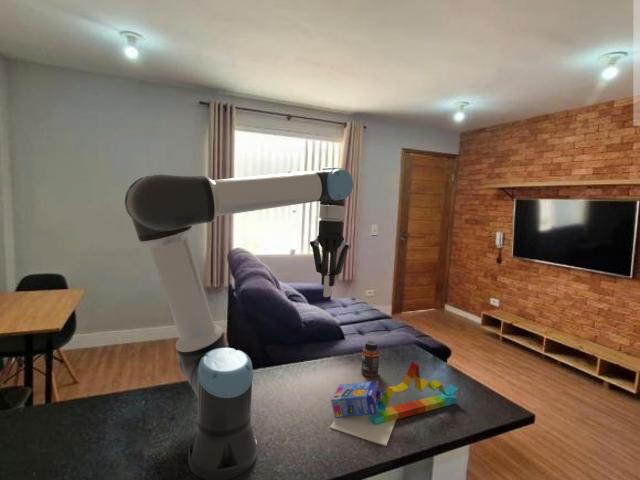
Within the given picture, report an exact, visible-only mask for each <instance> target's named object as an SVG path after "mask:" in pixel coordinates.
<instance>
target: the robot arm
mask: <svg viewBox="0 0 640 480" xmlns="http://www.w3.org/2000/svg"><path fill="white" fill-rule="evenodd" d="M353 188H354V178H353V177H352V175H351V173H350V172H349V171H347V170H346V169H344V168H339V167H323V168H322V169H321V170H310V171H300V170H289V171H288V172H286V173H278V174H277V173H276V174H267V175H266V174H265V175H256V176H254V175H252V176H243V177H242V176H241V177H232V178H220V179H211V178H210V177H208V176H207V175H194V176H192V175H191V176H189V175H188V176H187V175H172V174H162V173H161V174H154V175H153V174H152V175H147V176H144V177H140V178H138V179H136V180H135V181H134V182H132V184H131V185H130V186H129V187H128V189H127V191H126V192H125V198H124V207H125V209H126V212H127V214H128V215H129V217H130V218H131V220H132V224H133V226H134V228H135V233H136V236H137V237H138V241H139V242H140V243H142V244H143V245H145V246H147V247H149V250H150V253H151V256H152V259H153V263H154V265H155V268H156V271H157V274H158V276H159V277H158V278H159V280H160V283H161V286H162V288H163V291H164V295H165V297H166V301H167V303H168V306H169V307H168V308H169V310H170V312H171V315H172V319H173V321H174V325H175V327H176V330H177V332H178V333H177V334H178V336H179V338H178V339H177V341H176V342H175V349H176V352H177V355H178V362H179V368H180V370H181V372H182V374H183V375H184V377H186V379H187V381H188V383H189V386H190V387H191V389H192V390H193V392H194V393H195V396H196V399H197V425H196V429H195V432H194V435H193V438H192V440H191V443H190V445H189V449H188V468H189V469H190V471H191V473H193V474H194V475H195V476H196V477H198V478H200V479H203V480H231V479H234V478H237V477H239V476H241V475H243V473H245V472H247V471H248V470H250V468H251V467H252V466H253V465H254V463H255V461H256V459H257V454H258V441H257V437H256V435H255V433H254V429H253V426H252V421H251V416H252V414H251V413H252V391H253V379H254V372H253V363H252V360H251V358H250V357H249V355H248V354H247V353H246V352H244V351H242V350H240V349H237V350H236V349H235V348H233V347H228V344H227V341H226V337H225V333H224V331H223V328H222V327H221V326H220V325H217V324H215V322H214V318H213V315H212V312H211V308H210V306H209V303H208V299H207V295H206V292H205V289H204V286H203V282H202V280H201V276H200V273H199V270H198V266H197V263H196V259H195V256H194V252H193V249H192V247H191V244H190V239H189V235H190V233H191V231H192V230H193V226H196V225H200V224H201V225H202V224H207V223H212V222H214V221H215V220H216V219H217V217H221V216H226V215H227V216H228V215H235V214H240V213H241V214H242V213H247V212H249V213H250V212H254V211H261V210H262V211H263V210H268V209H275V208H283V207H290V206H296V205H301V204H309V203H315V202H319V213H318V214H319V215H318V218H319V221H318V235H317V237H316V239H314V240H311V241H310V242H309V245H310V246H311V248H312V254H313V259H314V265H315V271H316V273H319V274H320V275H321V285H322V286H323V294H322V295H323V296H322V297H323V298H324V297H325V298H329V297H330V296H332V287H334V286H335V284H336V283H335V281H336V279H335V278H336V276H338V275H340V274H342V271H343V268H344V264H345V260H346V258H347V254H348V251H349V250H350V249H351V247H352V245H351V244H350V243H347V242H346V241H345V238H344V224H345V223H344V221H342V220H345V219H344V218H345V208H346V207H345V203H346V199H347V198H349V197H350V196H351V194H352V193H353ZM320 247H321V251H320ZM340 248H341V250H340V253H339V256H337V255H338V250H339V249H340ZM321 253H322V254H321ZM337 257H338V259H337Z"/></svg>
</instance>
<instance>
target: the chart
mask: <svg viewBox="0 0 640 480" xmlns="http://www.w3.org/2000/svg"><path fill="white" fill-rule="evenodd" d="M413 380H414V388H416V389H417V390H418V391H420V392H421V393H422V392H423V391H424V390H425V389H426V388H427V387H428V388H430V389H431V390H432V391H434V392H435V391H436V390H437V389H438V392H440V393H441V394H437V395H433V396H430V397H425V398H422V399H418V400H414V401H409V402H405V403H401V404H397V405H396V404H395V405H393V406H389V407H388V405H389V404H390V401H391V399H393V396H394V394H396V393H397V394H398V393H399V394H400V393H403V392H405V391H406V390H408V389H409V388H410V386H411V384H412V381H413ZM458 390H459V388H458V387H456V386H455V385H453V384H450V385H449V386H448V387H446V389H444V387H443V383H441V382H440V381H438V380H437V379H433V380H432V381H431V382H430V381H429V380H426V379H425V378H424V377H422V378H421V375H420V367H419V365H418V364H416V363H415V362H414V361H411V363H410V365H409V367H408V370H407V372H406V374H405V377H404V378H403V381H402V382H400V383H399V384H397V385H394V386H393V385H392V386H391V385H390V386H387V388H386V389H385V393H384V395H383V396H382V397H381V401H380V403H379V406H378V408H377V411H378V413H377V415H370V416H369V419H370V420H371V421H372V422H373V423H374V424H375V425H377V424H381V423H385V422H388V421H392V420H396V421H397V420H399V419H403V418H407V417H410V416H414V415H418V414H422V413H425V412H429V411H432V410H436V409H441V408H443V407H444V408H445V407H448V406H451V405H456V404H457V400H458V397H457V396H456V395H454V394H456V392H458Z"/></svg>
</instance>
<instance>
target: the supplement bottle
mask: <svg viewBox="0 0 640 480" xmlns="http://www.w3.org/2000/svg"><path fill="white" fill-rule="evenodd" d="M379 363H380V349H379V348H378V342H377V341H375V340H366V341H365V346H364V347H363V348H362V357H361V372H360V373H361V374H363V376H366V377H376V376H377V375H379V367H380V366H379V365H380V364H379Z"/></svg>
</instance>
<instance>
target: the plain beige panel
mask: <svg viewBox="0 0 640 480" xmlns="http://www.w3.org/2000/svg"><path fill="white" fill-rule="evenodd" d="M369 416H370V415H365V416H353V417H342V418H334V420H333V422H332V424H330V426H329V428H330V429H333V430H334V431H339V432H341V433H345V434H347V435H350V436H354V437H357V438H359V439H363V440H366V441H368V442H369V441H370V442H372V443H375V444H378V445H381V446H384V447H387V445H388V443H389V440H390V437H391V436H392V435H391V434H392V433H393V430H394V427H395V424H396V421H397V419H396V420H392V421H388V422H385V423H381V424H377V425H375V424H374V423H373V422H372V421H371V420H370V419H369Z"/></svg>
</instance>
